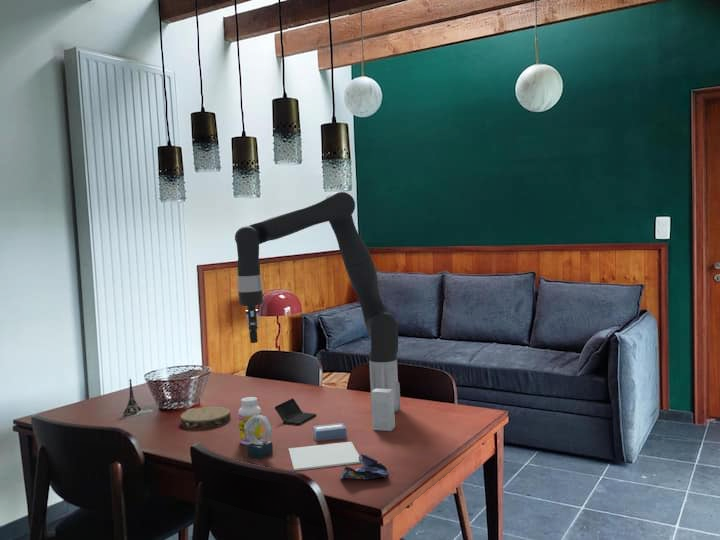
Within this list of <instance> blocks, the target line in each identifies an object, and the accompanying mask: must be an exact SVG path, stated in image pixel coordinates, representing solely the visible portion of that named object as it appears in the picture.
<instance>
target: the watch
mask: <svg viewBox="0 0 720 540" xmlns="http://www.w3.org/2000/svg"><path fill="white" fill-rule="evenodd" d="M260 420H261V421H262V423H263V425H264V426H265V432H264V436H263V437H262V440H258V439H257V438H256V437H255V436H254V434H253V432H254V430H255V428H256V427H257V426H258V424H259V422H260ZM271 423H272V422H271V421H270V419H269V418H268V417H267V416H265V415H264V414H261V415H257V416H256V415H254V416H252V417H251V418H249V420H248V421H247V422H246V424H245V426H244V429H245V432H246V435H247V437H248V439H250V441H251V442H252V444H250V445H246V447H247V448H246V449H247V457H248V458H252V459H257V460H261V459H263V458H265V457H267V456H269V455H271V454H273V453H274V451H273V449H274V448H273V441H270V439H271V437H272V433H273V428H272V427H273V426H272V424H271Z"/></svg>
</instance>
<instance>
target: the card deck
mask: <svg viewBox="0 0 720 540" xmlns="http://www.w3.org/2000/svg"><path fill="white" fill-rule="evenodd" d="M312 431H313V438H314V439H315V442H320V441H319V440H322V441H329V440H328V439H331V440H338V439H337V438H340V439H346V438H347V427H346V426H345V424H344V423H343V422H342V423H341V422H340V423H339V422H338V423H331V424H330V423H329V424H321V425H313V430H312Z"/></svg>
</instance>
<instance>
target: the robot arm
mask: <svg viewBox="0 0 720 540" xmlns="http://www.w3.org/2000/svg"><path fill="white" fill-rule="evenodd" d="M355 209H356V202H355V199H354V198H353V196H352V195H351V194H349V193H348V192H345V191H336V192H335V191H334V192H332V193H330V194H329V195H328V196H326V197H325V199H323V200H321V201H319V202H317V203H315V204H312V205H309V206H306V207H303V208H300V209H299V208H298V209H295V210H291V211H288V212H287V211H286V212H284V213H280V214H278V215H275V216H272V217H269V218H267V219H264V220H262V221H260V222H256V223H252V224H249V225H245V226H241V227H240V228H238V229H237V231H236V232H235V234H234V241H235V243H236V251H237V261H236V262H237V264H236V267H237V293H238V306H241V307H246V310H245V317H246V325H247V326H248V331H249V340H250V341H249V342H250V344H256V343H258V325H259V310H258V309H256V306H260V305H262V304H263V303H264V298H263V295H264V294H263V282H262V276H261V263H260V257H259V256H260V245H261V244H264V243H267V242H268V241H275V240H278V239H281V238H284V237H286V236H289V235H292V234H295V233H298V232H300V231H302V230H305V229H308V228H310V227H313V226H316V225H319V224H322V223H323V224H324V223H326V222H327V223H329V224H330V226H331V227H330V228H331V229H332V231H333V232H334V235H335V238H336V241H337V243H338V244H337V245H338V248H339V252H340V254H341V255H340V256H341V259H342V261H343V264H344V267H345V271H346V273H347V276H348V278H349V281H350V283H351V286H352V288H353V291H354V293H355V295H356V297H357V299H358V302H359V304H360V308H361V311H362V315H363V320H364V324H365V328H366V331H367V333H368V334H369V335H370V351H369V352H368V360H369V381H370V382H369V384H370V392H371V391H373V390H374V389H375V388H376V389H393V396H394V413H396V412H401V410H402V409H401V393H400V392H401V388H400V382H399V380H398V379H399V378H398V377H399V376H398V351H399V325H398V321H397V320H396V318H395V317H394V316H393V315H392V314H391V313H388V311H387V309H386V307H385V305H384V303H383V300H382V298H381V295H380V292H379V291H380V290H379V283H378V281H379V280H378V275H377V270H376V267H375V263H374V261H373V258H372V255H371V253H370V251H369V249H368V247H367V246H366V244H365V242H364V241H363V239H362V237H361V235H360V234H359V232H358V230H357V228H356V226H355V222H354V218H353V213H354V211H355ZM370 406H371V411H372V398H371V397H370Z"/></svg>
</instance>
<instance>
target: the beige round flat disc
mask: <svg viewBox="0 0 720 540" xmlns="http://www.w3.org/2000/svg"><path fill="white" fill-rule="evenodd" d="M230 418H231V410H230V408H227V407H226V406H204V407H203V406H202V407H197V408H193V409H189V410H187V411H186V410H185V411H184V412H183V413H181V414H180V425H181V426H182V427H184V428H186V429H190V428H204V429H210V428H209V427H212V428H216V427H219V426H218V425H220V426H223V425H225V424H227V423H229V422H230V421H231V419H230ZM228 421H229V422H228ZM224 423H225V424H224ZM222 424H223V425H222ZM215 426H216V427H215Z"/></svg>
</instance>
